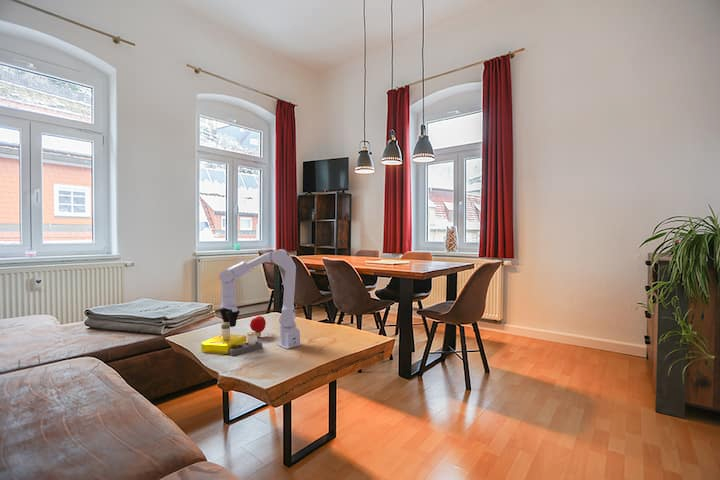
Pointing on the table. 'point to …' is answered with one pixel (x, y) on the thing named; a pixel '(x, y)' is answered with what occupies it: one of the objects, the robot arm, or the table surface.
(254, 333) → the cylinder
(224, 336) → the fuse
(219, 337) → the element tile
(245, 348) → the fuse block
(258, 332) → the light bulb
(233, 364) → the table surface
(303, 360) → the table surface
